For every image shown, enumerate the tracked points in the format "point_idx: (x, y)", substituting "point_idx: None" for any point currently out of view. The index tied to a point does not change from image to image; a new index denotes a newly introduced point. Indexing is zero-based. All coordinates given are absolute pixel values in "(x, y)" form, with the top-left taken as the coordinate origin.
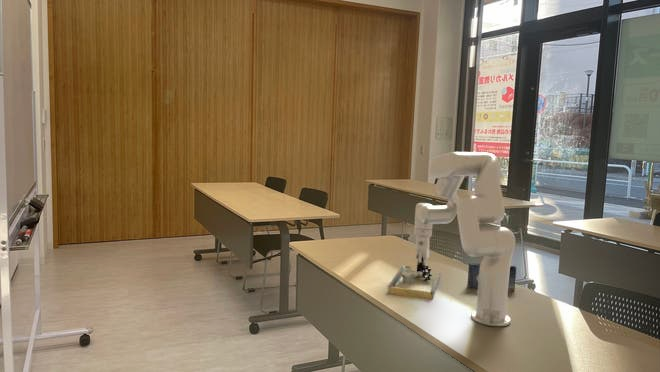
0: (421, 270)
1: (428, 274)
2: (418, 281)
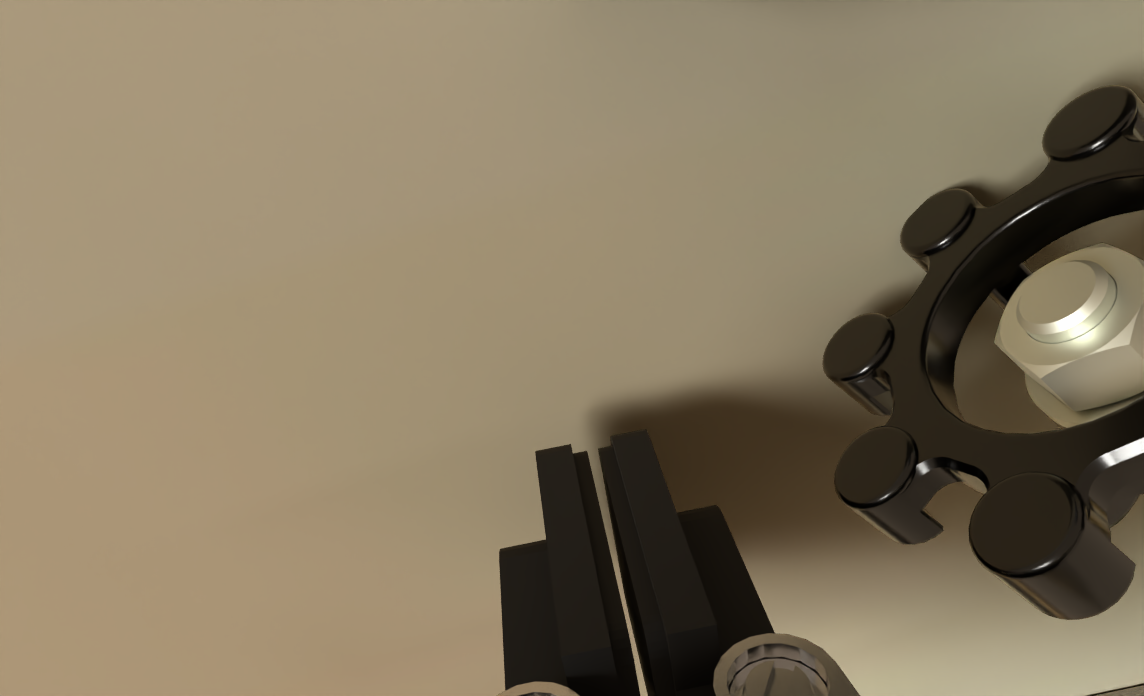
0: (902, 539)
1: None
2: None
